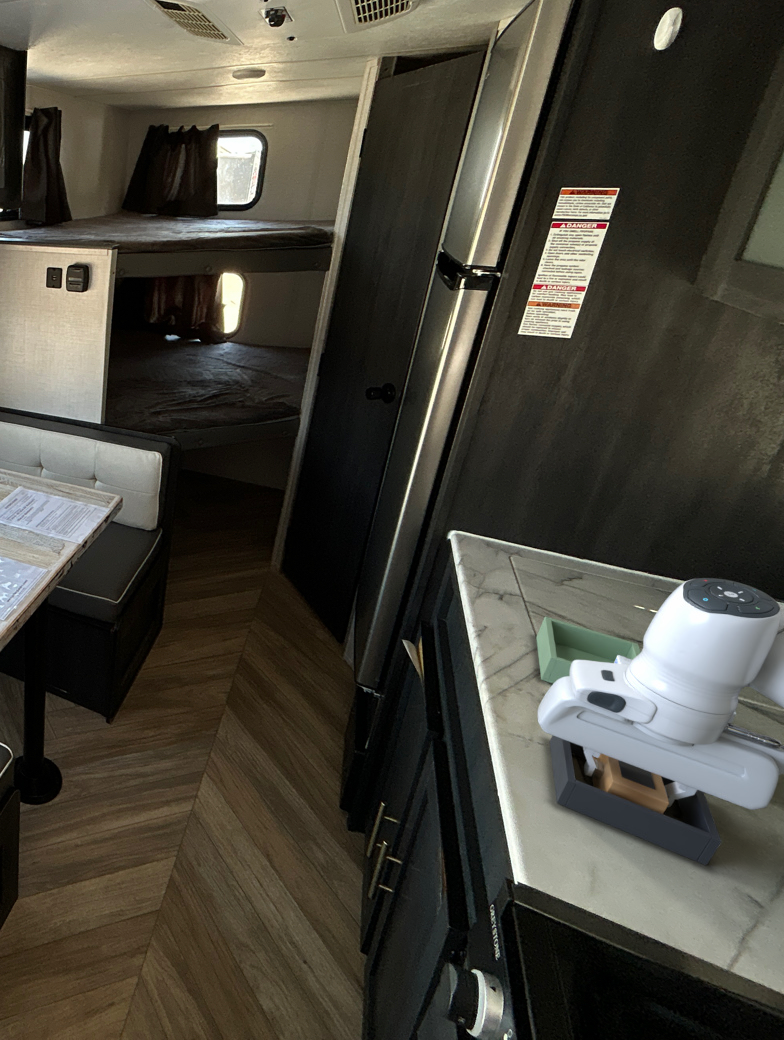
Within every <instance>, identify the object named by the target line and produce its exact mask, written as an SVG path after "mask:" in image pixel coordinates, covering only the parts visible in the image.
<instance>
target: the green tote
mask: <svg viewBox="0 0 784 1040" xmlns="http://www.w3.org/2000/svg"><path fill="white" fill-rule="evenodd" d="M535 639H536V646H537V655H538V663H539V671H540V672H539V673H540V680H541V681H544V682H547V683H549V684H552V685H553V684H554V683H555V682H556V681H557V680H558V679H560V678H562V677H566V676H569V672H570V666H571V663H572V662H573V661H574V660H589V661H597V662H606V663H614V662H615V660H616V657H617V655H620V656H623V657H626V658H629V659H632V660H633V659H634V658H635V657H636V656H638V655H639V654H640V653H641V651H642V650H641V649H640V645H639V643H638V642H637V643H636V642H633V641H631V640H627V639H623V638H620V637H617V636H613V635H611V634H607V633H603V632H600V631H596V630H593V629H590V628H586V627H583V626H579V625H577V624H572V623H569V622H566V621H563V620H559V619H556V618H553V617H549V616H544V618H543V620H542V623H541V625H540V628H539V630H538V632H537V635H536V638H535Z"/></svg>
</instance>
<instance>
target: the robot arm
mask: <svg viewBox="0 0 784 1040" xmlns="http://www.w3.org/2000/svg"><path fill="white" fill-rule="evenodd" d="M642 641H643V642H642V643H643V644H642V649H641V650H640V651H641V653H640V654H639V655H638V656H636V657H635V658H634V659H633V660H632V661H631V663H630V664H619V663H606V662H597V661H589V660H574V661H573V662H572V663H571V666H570V672H569V676H566V677H562V678H560V679H558V680H557V681H556V682H555V683H554V684H553V683H552V685H551V686H550V687H549V688H548V689H547V691H546V693H545V694H544V696H543V698H541V699H542V700H541V701H540V703H539V704H538V708H537V712H536V713H537V722H538V725H539V726H540V728H541V729H542V731H543V732H544V733H546V734H548V735H551V736H556V737H559V738H561V739H564V740H567V741H569V742H572V743H575V744H577V745H580V746H582V747H583V750H584V754H585V757H586V759H585V760H586V761H585V763H584V765H583V770H584V772H583V773H584V775H585V776H588V777H590V778H592V777H593V778H595V779H598V780H601V778H602V777H601V776H603V774H604V772H605V771H604V767H603V762H601V761H598V760H596V759H595V757H596V758H599V756H600V754H604V755H606V756H609V757H612V758H614V759H617V760H620V761H622V762H625V763H628V764H630V765H633V766H636V767H638V768H641V769H644V770H646V771H649V772H652V773H654V774H657V775H660V776H662V777H665V778H668V779H670V780H673V781H675V782H673V783H670V784H668V785H665V786H664V787H665V791H666V794H667V797H668V801H669V805H668V807H667V808H671V806H672V805H673V803H674V802H675V800H677V799H680V798H684V797H688V796H692V795H694V794H695V793H696V791H697V790H699V791H702V792H704V794H708V795H710V796H713V797H715V798H718V799H721V800H724V801H726V802H729V803H730V804H731V803H732V804H733V805H737V806H739V807H741V808H745V809H747V810H750V811H755V810H756V811H757V810H761V809H766V808H767V807H768V806H769V805H770V803H771V801H772V799H773V797H774V794H775V792H776V789H777V785H778V782H779V777H780V775H783V774H784V744H782V741H781V740H780V739H777V738H775V737H773V736H770V735H766V734H762V733H761V734H760V733H759V732H755V731H752V730H750V729H747V728H746V727H742V726H739V725H736V724H733V723H731V724H730V723H728V722H729V720H730V718H731V717H732V715H733V714H734V711H735V712H736V710H737V709H738V706H739V696H740V693H741V691H742V690H743V689H744V688H751V689H753V690H754V691H756V692H757V693H759V694H761V695H762V696H764V697H765V698H767V699H768V700H769V701H772V702H773V703H775V704H777V705H778V706H779V707H781V708H783V709H784V604H782V603H780V602H778V601H777V600H775V599H774V598H773V597H772V596H770V595H769V594H767V593H766V592H764V591H762V590H760V589H758V588H756V587H753V586H751V585H747V584H745V583H741V582H738V581H734V580H729V579H723V578H714V577H700V578H699V577H698V578H692V579H689V580H686V581H684V582H683V583H681V584H680V585H678V586H677V587H676V588H675V589H674V590H673V591H672V593H671V594H669V596H667V598H666V599H665V600H664V602H663V603H662V604H661V606H660V607H659V608H658V610H657V612H656V613H655V615H654V616H653V617H652V620H651V621H650V623H649V625H648V627H647V628H646V631H645V633H644V635H643V640H642Z"/></svg>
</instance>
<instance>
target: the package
mask: <svg viewBox="0 0 784 1040" xmlns="http://www.w3.org/2000/svg"><path fill="white" fill-rule="evenodd" d="M595 759H596V760H598V761H601V762H603V767H604V771H605V772H604V774H603V776H601V777H602V778H601V780H598V779H595V778H593V777H591V779H592V786H593V787H595V788H598V789H600V790H603V791H605V792H608V793H610V794H613V795H615V796H618V797H620V798H623V799H625V800H628V801H630V802H633V803H635V804H638V805H640V806H643V807H645V808H648V809H650V810H653V811H656V812H658V813H661V814H663V815H664V813H665V811H666V810H667V808H669V807H668V805H669V801H668V797H667V794H666V791H665V787H664V784H663V781H662V777H661V776H660V775H657V774H654V773H652V772H649V771H646V770H644V769H641V768H638V767H636V766H633V765H630V764H628V763H625V762H622V761H620V760H617V759H614V758H612V757H609V756H606V755H604V754H600V756H599V758H596V757H595Z"/></svg>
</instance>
